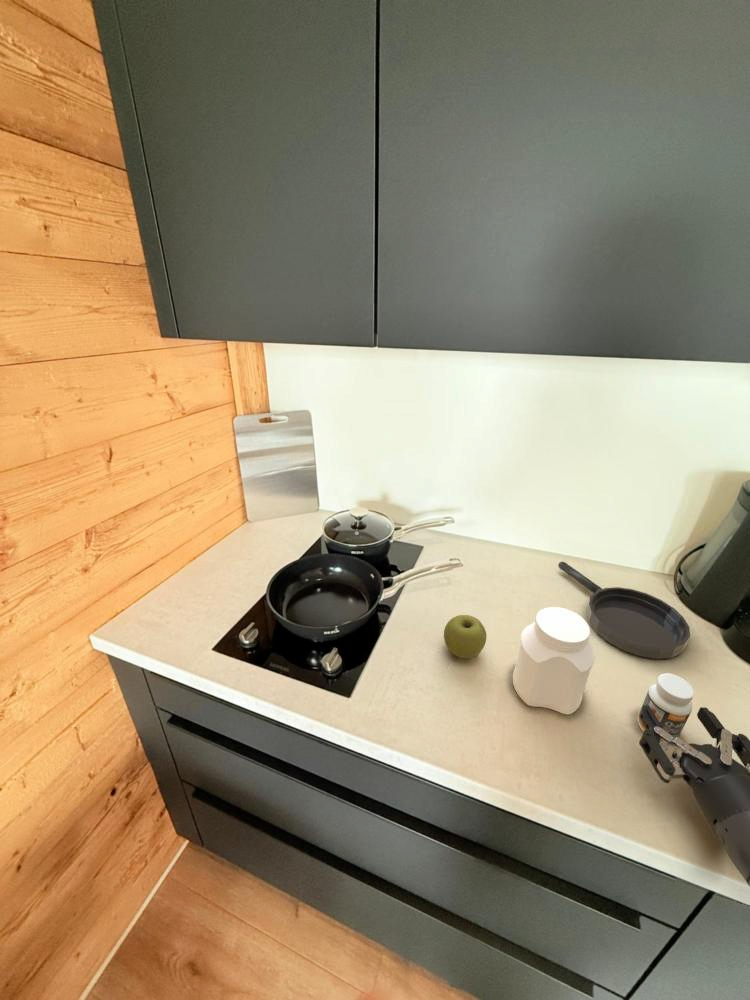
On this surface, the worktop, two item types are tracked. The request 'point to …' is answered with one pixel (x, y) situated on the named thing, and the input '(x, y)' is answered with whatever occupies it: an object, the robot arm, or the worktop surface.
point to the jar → (554, 661)
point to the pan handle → (579, 577)
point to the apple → (465, 636)
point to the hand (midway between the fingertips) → (672, 709)
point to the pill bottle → (670, 703)
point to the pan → (638, 622)
